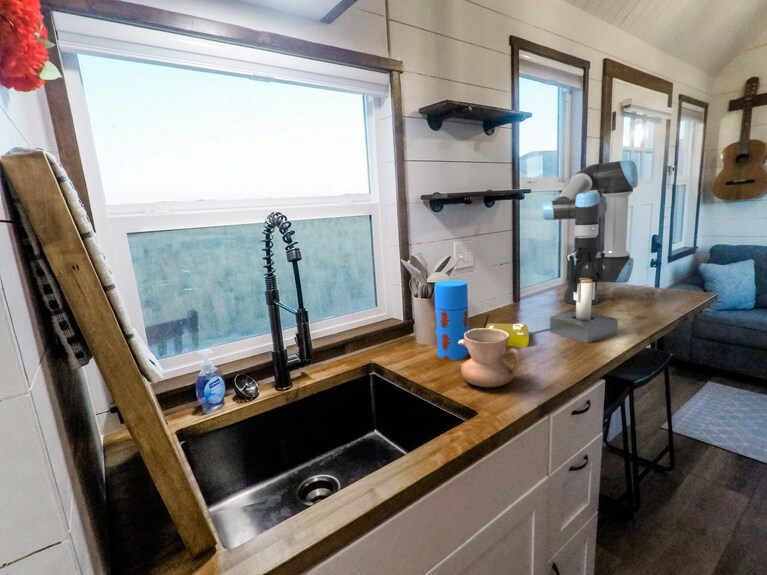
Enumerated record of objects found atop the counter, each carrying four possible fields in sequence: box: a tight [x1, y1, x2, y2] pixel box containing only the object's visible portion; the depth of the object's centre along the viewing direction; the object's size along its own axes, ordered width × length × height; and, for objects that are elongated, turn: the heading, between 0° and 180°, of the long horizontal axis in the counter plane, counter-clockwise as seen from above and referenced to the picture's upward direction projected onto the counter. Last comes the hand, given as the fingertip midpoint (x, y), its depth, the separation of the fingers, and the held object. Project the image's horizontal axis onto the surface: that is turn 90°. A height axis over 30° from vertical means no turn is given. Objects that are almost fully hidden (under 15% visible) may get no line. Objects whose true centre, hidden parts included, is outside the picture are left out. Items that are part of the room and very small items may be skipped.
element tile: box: [485, 322, 530, 348], centre depth 142 cm, size 15×15×5 cm
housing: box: [549, 310, 619, 344], centre depth 143 cm, size 16×16×6 cm
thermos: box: [434, 279, 469, 361], centre depth 129 cm, size 11×11×25 cm
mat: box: [516, 320, 550, 336], centre depth 153 cm, size 12×12×1 cm
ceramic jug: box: [458, 327, 522, 388], centre depth 107 cm, size 18×14×14 cm
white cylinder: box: [575, 278, 592, 320], centre depth 141 cm, size 5×5×15 cm
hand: (583, 299), depth 141 cm, fingers closed on white cylinder, 5 cm apart
